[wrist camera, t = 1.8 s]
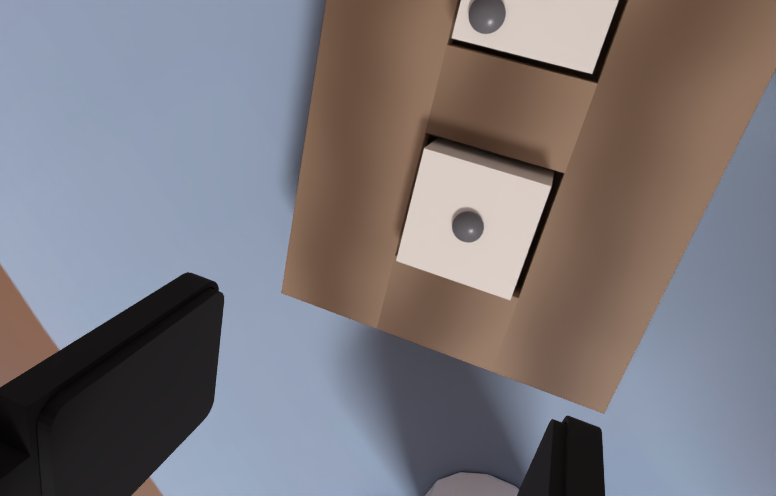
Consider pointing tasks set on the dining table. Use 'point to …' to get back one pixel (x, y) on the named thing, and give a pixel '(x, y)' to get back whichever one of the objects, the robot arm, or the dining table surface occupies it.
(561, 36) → the button three
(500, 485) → the white cup
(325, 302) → the button board
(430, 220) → the button one
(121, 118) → the dining table surface
